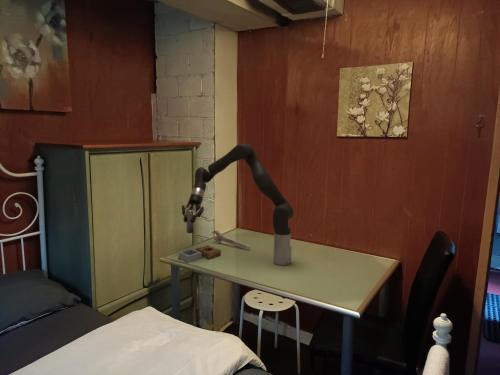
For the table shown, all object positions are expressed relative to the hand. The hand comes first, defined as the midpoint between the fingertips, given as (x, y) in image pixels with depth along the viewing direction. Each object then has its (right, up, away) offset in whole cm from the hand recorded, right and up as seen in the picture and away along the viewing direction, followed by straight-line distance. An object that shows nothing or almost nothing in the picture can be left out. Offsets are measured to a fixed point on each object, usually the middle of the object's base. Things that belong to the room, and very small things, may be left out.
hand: (188, 221), depth 207 cm
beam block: (+10, -21, +11) cm, 25 cm away
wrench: (+22, -18, +29) cm, 41 cm away
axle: (0, -6, +3) cm, 7 cm away
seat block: (0, -21, +5) cm, 22 cm away
